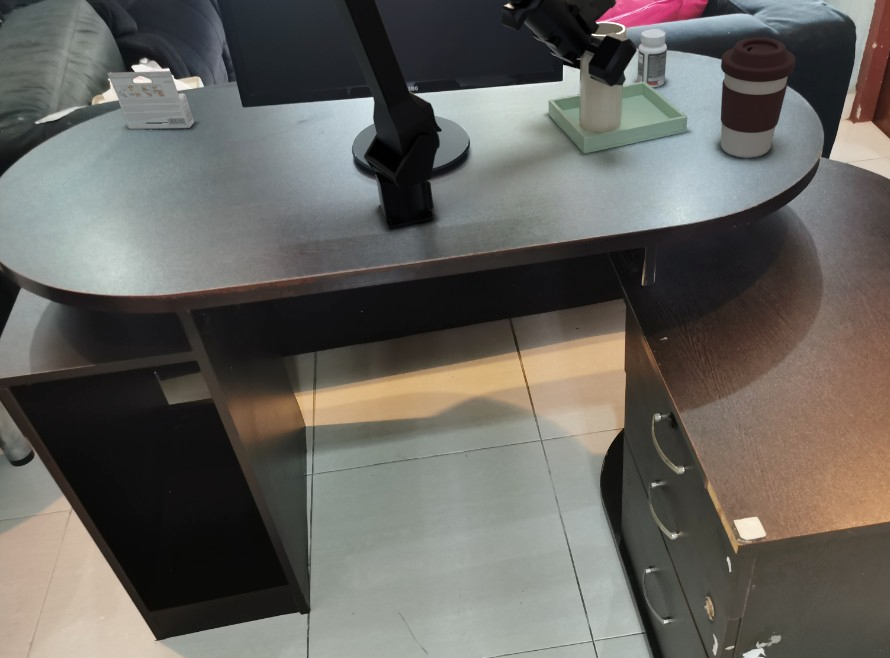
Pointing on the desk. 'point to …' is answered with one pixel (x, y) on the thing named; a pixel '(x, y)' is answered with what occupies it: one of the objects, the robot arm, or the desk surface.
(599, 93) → the tumbler
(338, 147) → the desk surface
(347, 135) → the desk surface
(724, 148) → the coffee cup
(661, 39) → the pill bottle
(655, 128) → the tray
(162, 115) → the ink cartridge box
